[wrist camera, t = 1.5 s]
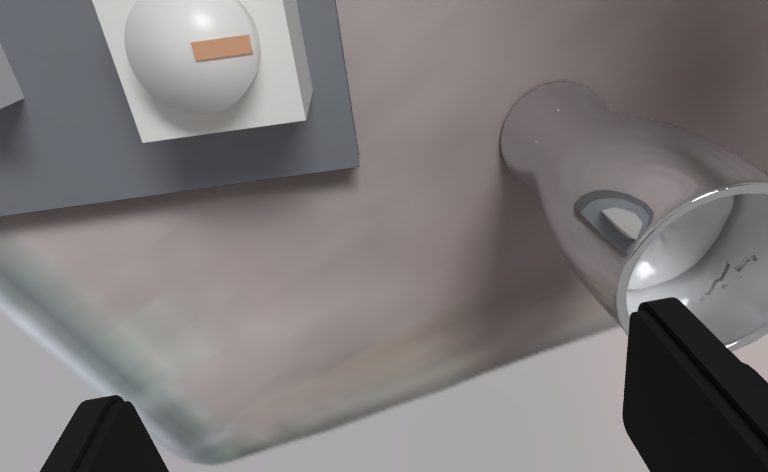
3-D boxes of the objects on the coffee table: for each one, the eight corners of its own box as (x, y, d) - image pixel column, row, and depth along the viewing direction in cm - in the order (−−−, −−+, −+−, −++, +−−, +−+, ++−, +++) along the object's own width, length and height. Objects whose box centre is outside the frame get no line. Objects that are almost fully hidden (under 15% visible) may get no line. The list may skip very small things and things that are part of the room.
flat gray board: (-208, -111, 22) (-363, -130, 17) (308, -182, 22) (298, -220, 17) (-32, 207, 29) (-106, 257, 24) (358, 153, 29) (361, 192, 24)
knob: (178, 109, 26) (128, 155, 20) (131, -43, 22) (55, -43, 16) (312, 90, 26) (303, 131, 20) (284, -64, 22) (263, -72, 17)
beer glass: (636, 91, 29) (884, 206, 16) (580, 203, 32) (749, 380, 19) (520, 56, 27) (684, 150, 14) (474, 177, 30) (573, 346, 17)
